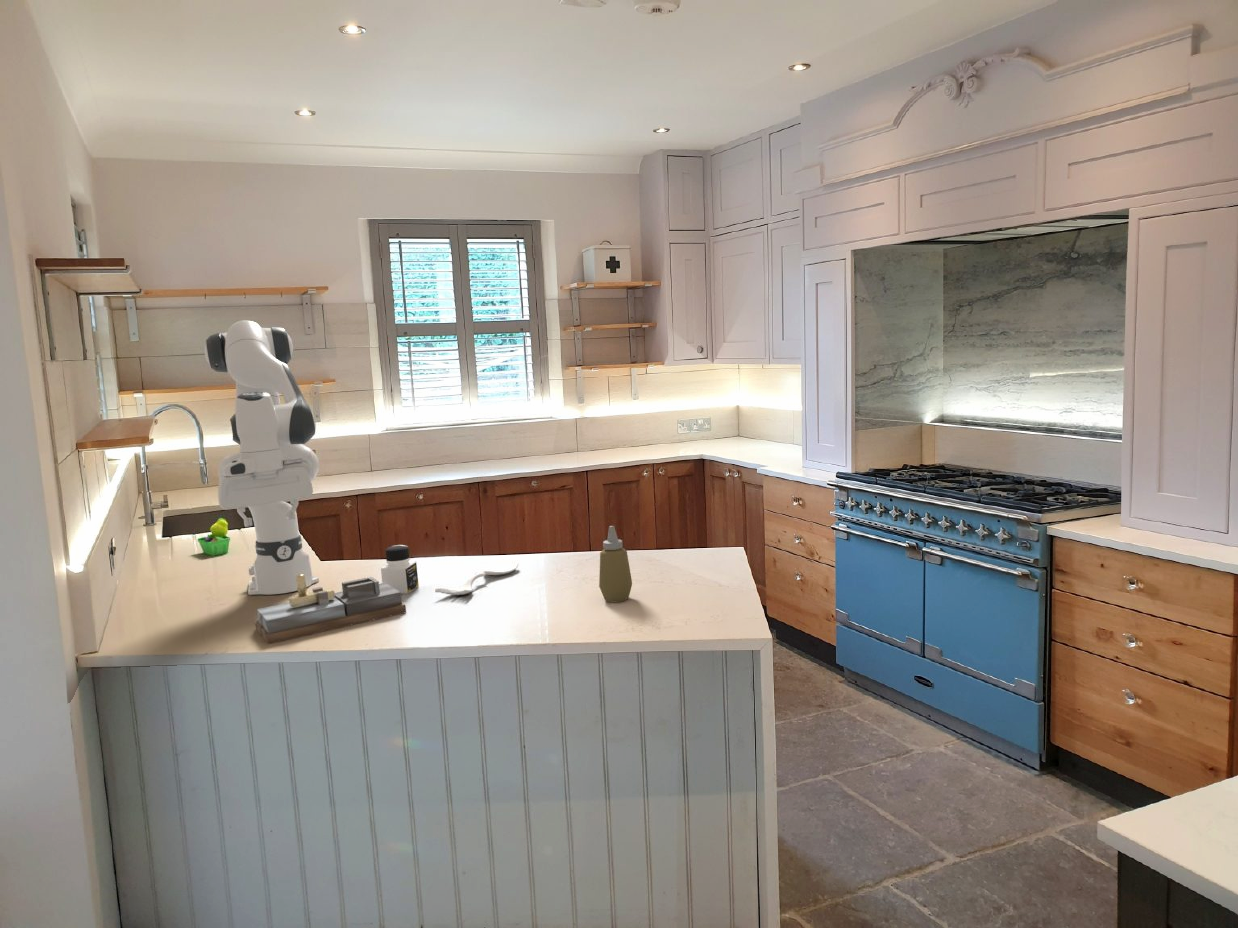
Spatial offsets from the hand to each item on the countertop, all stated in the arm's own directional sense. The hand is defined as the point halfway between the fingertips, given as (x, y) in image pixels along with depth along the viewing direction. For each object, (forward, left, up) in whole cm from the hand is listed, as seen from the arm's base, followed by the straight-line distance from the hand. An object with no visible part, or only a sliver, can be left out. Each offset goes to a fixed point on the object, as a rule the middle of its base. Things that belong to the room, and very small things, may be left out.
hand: (270, 522), depth 206 cm
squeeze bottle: (+35, +70, -26) cm, 83 cm away
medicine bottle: (-14, +33, -26) cm, 44 cm away
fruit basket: (-111, +2, -26) cm, 114 cm away
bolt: (0, +7, -20) cm, 22 cm away
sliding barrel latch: (0, +11, -26) cm, 28 cm away
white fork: (-4, +52, -26) cm, 58 cm away
